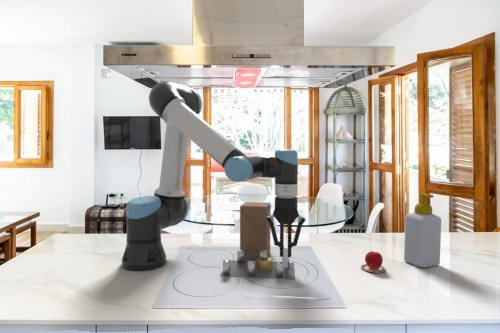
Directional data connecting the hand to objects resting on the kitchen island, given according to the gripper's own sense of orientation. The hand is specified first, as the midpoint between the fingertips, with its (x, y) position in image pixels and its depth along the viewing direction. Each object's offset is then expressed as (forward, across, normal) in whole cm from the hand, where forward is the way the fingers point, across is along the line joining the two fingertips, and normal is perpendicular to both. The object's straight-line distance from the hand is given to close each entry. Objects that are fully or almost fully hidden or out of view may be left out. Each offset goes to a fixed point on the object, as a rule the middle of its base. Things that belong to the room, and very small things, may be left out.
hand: (285, 266), depth 119 cm
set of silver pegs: (+2, -9, 0) cm, 9 cm away
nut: (+1, -7, 0) cm, 7 cm away
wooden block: (+2, -11, +15) cm, 19 cm away
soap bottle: (+2, +48, +13) cm, 50 cm away
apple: (+2, +30, +5) cm, 30 cm away
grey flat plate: (+2, -9, 0) cm, 9 cm away
